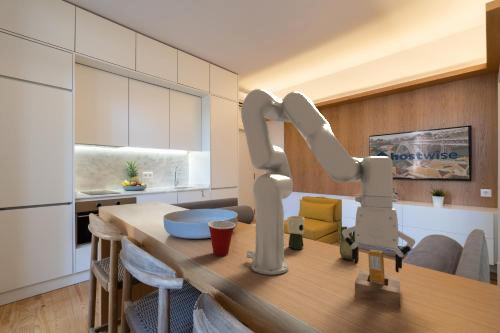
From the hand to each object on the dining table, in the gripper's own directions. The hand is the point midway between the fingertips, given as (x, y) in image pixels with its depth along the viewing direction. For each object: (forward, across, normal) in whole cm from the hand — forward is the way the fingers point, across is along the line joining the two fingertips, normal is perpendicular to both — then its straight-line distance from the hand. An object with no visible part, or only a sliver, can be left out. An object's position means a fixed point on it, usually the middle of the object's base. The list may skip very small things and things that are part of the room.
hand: (375, 266), depth 64 cm
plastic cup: (+8, -54, +2) cm, 54 cm away
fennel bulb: (+7, -11, +23) cm, 26 cm away
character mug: (+7, -32, +25) cm, 41 cm away
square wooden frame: (+8, 0, 0) cm, 8 cm away
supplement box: (+6, 0, 0) cm, 6 cm away
